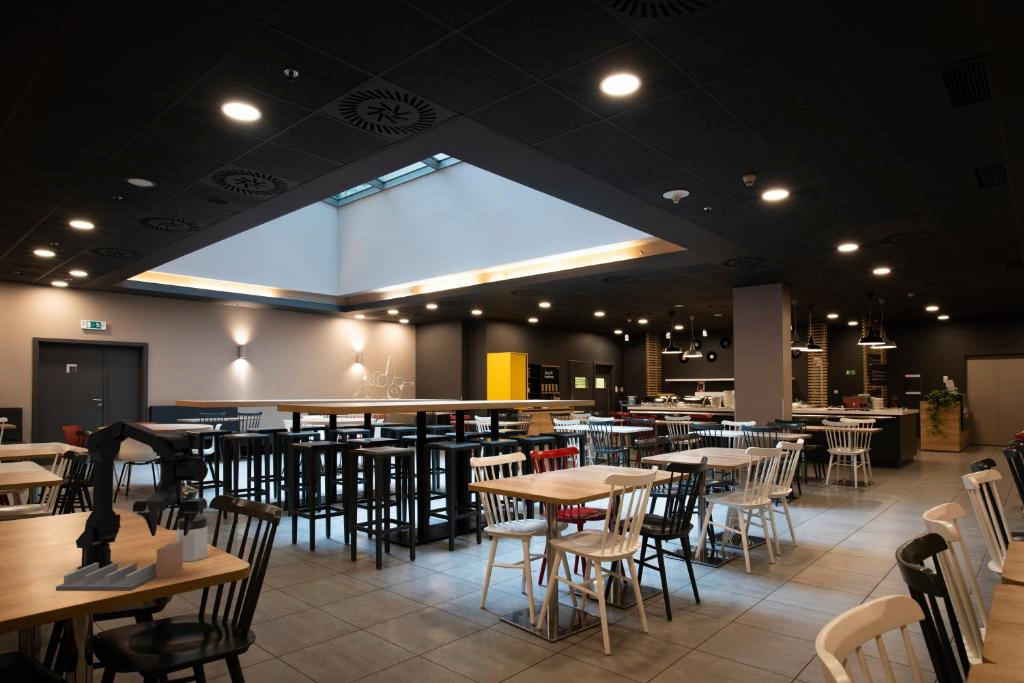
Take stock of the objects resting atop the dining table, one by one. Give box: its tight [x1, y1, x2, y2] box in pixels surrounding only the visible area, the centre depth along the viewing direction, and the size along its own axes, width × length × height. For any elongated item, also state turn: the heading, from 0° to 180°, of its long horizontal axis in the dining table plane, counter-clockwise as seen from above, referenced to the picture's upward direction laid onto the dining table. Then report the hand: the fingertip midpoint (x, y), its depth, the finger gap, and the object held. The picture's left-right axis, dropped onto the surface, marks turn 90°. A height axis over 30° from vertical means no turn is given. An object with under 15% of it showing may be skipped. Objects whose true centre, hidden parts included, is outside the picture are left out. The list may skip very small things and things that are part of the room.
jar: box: [176, 515, 208, 563], centre depth 195 cm, size 9×8×12 cm
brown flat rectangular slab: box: [155, 540, 184, 579], centre depth 179 cm, size 2×9×8 cm, turn 0°
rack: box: [55, 562, 157, 592], centre depth 171 cm, size 20×14×4 cm
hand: (169, 535), depth 180 cm, fingers open, 9 cm apart
